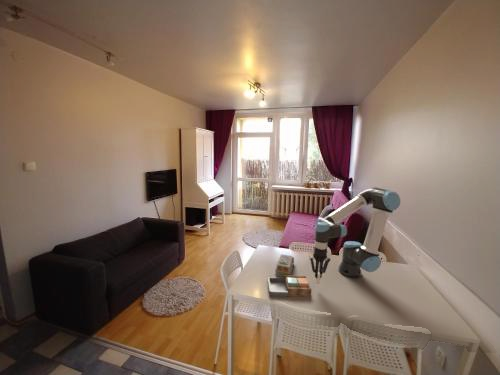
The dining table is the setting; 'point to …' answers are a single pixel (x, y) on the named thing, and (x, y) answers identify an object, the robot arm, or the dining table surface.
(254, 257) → the dining table surface
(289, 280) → the tile
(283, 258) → the toy car
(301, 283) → the tile
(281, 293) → the box
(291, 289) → the brown wooden tray
